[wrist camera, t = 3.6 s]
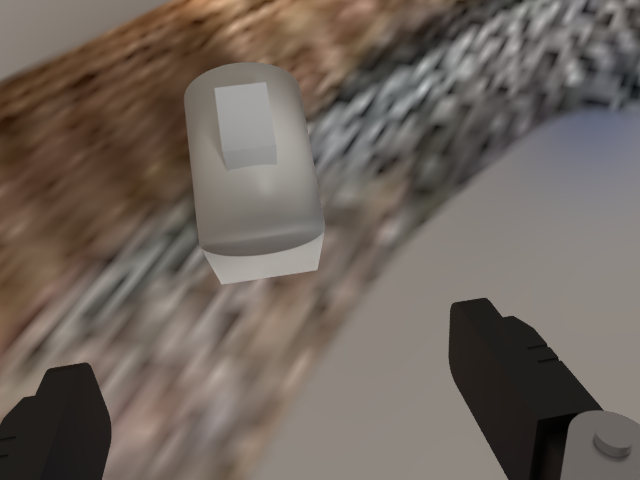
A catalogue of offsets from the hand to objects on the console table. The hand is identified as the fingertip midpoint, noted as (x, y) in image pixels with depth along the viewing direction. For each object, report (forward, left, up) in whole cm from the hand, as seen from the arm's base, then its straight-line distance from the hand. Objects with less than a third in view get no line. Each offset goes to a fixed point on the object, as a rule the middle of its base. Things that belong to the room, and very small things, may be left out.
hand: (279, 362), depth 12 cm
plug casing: (0, -8, -12) cm, 14 cm away
